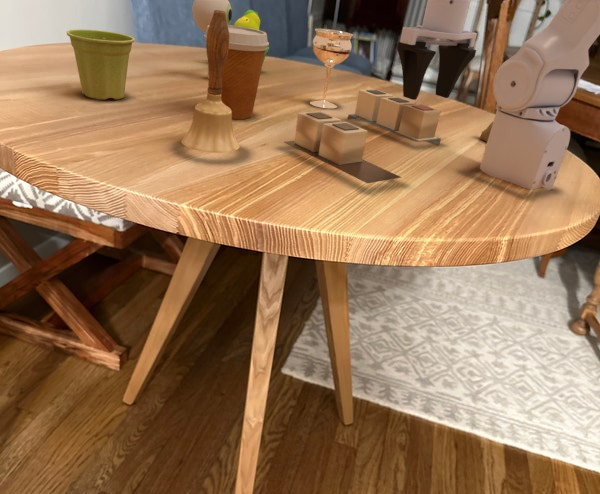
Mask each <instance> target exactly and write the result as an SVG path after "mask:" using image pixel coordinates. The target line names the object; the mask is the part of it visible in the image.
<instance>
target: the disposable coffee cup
mask: <svg viewBox="0 0 600 494" xmlns="http://www.w3.org/2000/svg"><path fill="white" fill-rule="evenodd" d="M208 28H209V25H208V26H207V30H206V32H205V33H204V34H203V37H204V39H205V41H204V42H205V43H206V41H207V32H208ZM228 29H229V50H228V55H227V59H226V62H225V64H224V68H223V73H222V88H221V89H222V93H221V101H222V103H223V104H225V105H226V106H227V107H229V108H230V109H231V111H232V120H243V119H244V120H245V119H250V118H251V117H252V116H253V113H254V108H255V103H256V98H257V94H258V88H259V83H260V79H261V74H262V69H263V65H262V64H264V62H263V60H264V61H265V59H264V55H265V50H267V47H269V45H270V42H269V41H268V33H267V32H265V31H263V30H260V29H259V30H256V29H252V28H246V27H240V26H234V25H231V24H229V25H228ZM208 68H209V62H208V61H207V69H208Z"/></svg>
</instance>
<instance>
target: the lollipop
mask: <svg viewBox="0 0 600 494" xmlns="http://www.w3.org/2000/svg"><path fill="white" fill-rule="evenodd" d="M191 9H192V10H191V12H192V18H193V21H194V23H195V25H196V26H197V27H198V28H199V30H201V31H202V32H204V33H206V30H207V26H208V25H210V23H211V20H212V17H213V13H214V10H220V11H225V13H226V20H227V25H231V22H232V18H233V10H232V6H231V3H230V1H229V0H194V1H193V4H192V8H191ZM207 80H209V68H208V67H207Z"/></svg>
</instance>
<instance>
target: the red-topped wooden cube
mask: <svg viewBox="0 0 600 494" xmlns="http://www.w3.org/2000/svg"><path fill="white" fill-rule="evenodd" d="M441 112H442V111H441V110H439V109H437V108H434V107H431V106H427V105H425V104H422V103H419V104H418V103H416V105H404V109H403V113H402V118H401V123H400V127H399V132H401V133H404V134H406V135H409V136H411V137H414V138H416V139H422V138H431V137H434V136H436V132H437V128H438V125H439V120H440V116H441Z"/></svg>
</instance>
